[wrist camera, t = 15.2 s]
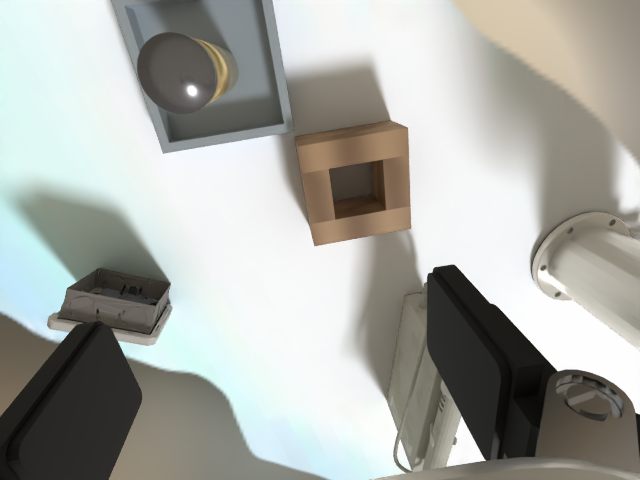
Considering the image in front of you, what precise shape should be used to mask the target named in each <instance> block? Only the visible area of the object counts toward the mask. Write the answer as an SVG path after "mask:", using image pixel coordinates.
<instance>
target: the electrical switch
mask: <svg viewBox="0 0 640 480" xmlns="http://www.w3.org/2000/svg"><path fill="white" fill-rule="evenodd" d="M98 272H99V274H98ZM113 275H114V276H113ZM97 277H98V278H97ZM122 278H123V279H122ZM125 283H126V286H125V289H124V290H123V287H124V285H125ZM170 285H171V284H169V283H165V282H160V281H156V280H151V279H146V278H142V277H137V276H132V275H128V274H123V273H119V272H114V271H109V270H105V269H100V270H99V269H97V270H95V271H94V272H92V273H91V274H89V275H87V276H86V277H84V278H83V279H81V280H80V281H78V282H76V283H75V284H73V285H72V286H70V287H68V288H67V290H66V295H65V300H64V303H63V305H62V307H61V310H60V311H59V312H58V313H53V314H52V315H50V316H49V317H48V323H47V326H48V327H49V328H50V329H53V330H59V331H65V332H71V330H72V329H73V328H74V327H75V326H76V325H78V324H82V323H88V322H94V321H102V322H103V323H104V324H105V325H109V326H110V327H111V329H112V331H113V333H114V335H115V337H116V339H117V341H123V342H128V343H134V344H140V345H146V346H149V345H154V344H155V343H156V341H157V339H158V337H159V335H160V333H161V331H162V329H163V328H164V326H165V324H166V322H167V320H168V318H169V316H170V314H171V311H172V306H171V305H169V304H166V303H167V300H168V293H169V289H170ZM100 287H101V289H100ZM130 287H136V289H137V293H136V295H133V294H130V293H128V291H129V289H130ZM141 287H142V293H141V292H140V290H141ZM82 290H83V291H82ZM122 290H123V291H122Z"/></svg>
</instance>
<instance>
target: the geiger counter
mask: <svg viewBox="0 0 640 480" xmlns="http://www.w3.org/2000/svg"><path fill="white" fill-rule="evenodd" d="M387 403H388V406H389V408H390V411H391V414H392V417H393V420H394V422H395V425H396V428H397V431H398V434H397V437H396V441H395V446H394V455H393V456H394V461H395V463H396V465H397V466H398V467H399V468H400V469H401V470H402V471H404V472H405V473H411V472H417V471H423V470H430V469H436V468H443V467H446V464H447V461H448V458H449V455H450V451H451V448H452V445H456V442H457V439H456V437H455V435H456V432H457V428H458V425H459V422H460V418H461V414H460V412H459V410H458V408H457V406H456V404H455V402H454V400H453V398H452V397H451V395H450V393H449V391H448V389H447V387H446V385H445V383H444V381H443V379H442V378H441V376H440V374H439V372H438V370H437V368H436V366H435V364H434V362H433V361H432V359H431V357H430V355H429V352H428V348H427V282H426V283H424V288H423V290H422V292H421V294H419V293H414V294H410V295H405V297H404V303H403V309H402V315H401V321H400V326H399V332H398V338H397V344H396V350H395V356H394V362H393V368H392V374H391V379H390V385H389V391H388V397H387ZM400 439H401V442H402V445H403V447H404V450H405V453H406V456H407V459H408V461H409V464H410V467H411V470H412V471H410V470H407V469H406V468H404V467H403V466H402V465H401V464H400V463H399V462H398V459H397V449H398V444H399V440H400Z"/></svg>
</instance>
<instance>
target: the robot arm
mask: <svg viewBox="0 0 640 480" xmlns="http://www.w3.org/2000/svg"><path fill="white" fill-rule="evenodd" d="M532 274H533V279H534V282H535V284H536V286H537V287H538V288H539V289H540V290H541V291H542V292H543V293H544V294H546V295H547V296H549V297H551V298H553V299H557V300H574V301H575V302H576V303H578V304H579V305H580V306H582V307H583V308H584V309H585V310H587V311H588V312H589V313H591V314H592V315H593V316H595V317H596V318H597V319H599V320H600V321H601V322H603V323H604V324H605V325H606V326H608V327H609V328H610V329H612V330H613V331H614V332H616V333H617V334H618V335H620V336H621V337H622V338H624V339H625V340H626V341H627V342H629V343H630V344H631V345H633V346H634V347H635V348H637V349H638V350H639V351H640V241H639V240H637V239H635V238H632V237H630V232H629V229H628V227H627V225H626V224H625V223H624V222H623V221H622V220H621V219H619V218H618V217H616V216H613V215H611V214H608V213H604V212H589V213H584V214H581V215H578V216H575V217H573V218H571V219H569V220H567V221H565V222H564V223H562V224H561V225H560V226H558V227H557V228H556V229H555V230H554V231H552V232H551V233H550V234H549V235H548V236H547V238H546V239H545V240H544V241H543V243H542V244H541V246H540V248H539V249H538V251H537V253H536V256H535V258H534V262H533V267H532ZM427 348H428V352H429V355H430V357H431V359H432V361H433V362H434V364H435V366H436V368H437V370H438V372H439V374H440V376H441V378H442V379H443V381H444V383H445V385H446V387H447V389H448V391H449V393H450V395H451V397H452V398H453V400H454V402H455V404H456V406H457V408H458V410H459V412H460V414H461V416H462V417H463V419H464V421H465V423H466V425H467V427H468V429H469V431H470V433H471V434H472V436H473V438H474V440H475V442H476V444H477V446H478V448H479V450H480V452H481V453H482V455H483V457H484V459H485V460H486V461H481V462H475V463H468V464H462V465H456V466H449V467H443V468H436V469H430V470H423V471H417V472H411V473H405V474H399V475H394V476H388V477H382V478H376V479H371V480H640V414H637V413H635V409H634V406H633V403H632V401H631V400H630V399H629V397H628V396H627V395H626V394H625V392H623V391H622V390H621V389H620V388H619V387H617V386H616V385H615V384H614V383H612V382H610V381H608V380H607V379H605V378H603V377H601V376H598V375H595V374H593V373H590V372H586V371H581V370H562V371H557V370H556V369H555V368H554V367H553V366H552V365H551V364H550V363H549V362H548V361H547V359H546V358H545V357H544V356H543V355H542V354H541V353H540V352H539V351H538V350H537V349H536V348H535V347H534V345H533V344H532V343H531V342H530V341H529V340H528V339H527V338H526V337H525V336H524V335H523V334H522V333H521V331H520V330H519V329H518V328H517V327H516V326H515V325H514V324H513V323H512V322H511V321H510V320H509V319H508V317H507V316H506V315H505V314H504V313H503V312H502V311H501V310H500V309H499V308H498V307H497V306H496V305H494V304H490V303H489V302H488V301H487V300H486V299H485V297H484V296H483V295H482V294H481V293H480V292H479V291H478V290H477V289H476V288H475V286H474V285H473V284H472V283H471V282H470V281H469V280H468V279H467V278H466V277H465V275H464V274H463V273H462V272H461V271H460V270H459V269H458V268H457V267H456V266H455V265H447V266H441V267H435V268H434V269H433V273H429V274H428V276H427ZM141 401H142V392H141V389H140V387H139V385H138V383H137V381H136V379H135V377H134V375H133V373H132V370H131V368H130V366H129V364H128V362H127V360H126V358H125V356H124V354H123V352H122V349H121V347H120V345H119V343H118V341H117V339H116V337H115V335H114V333H113V331H112V329H111V327H110V326H109V325H105V324H104V323H103V322H102V321H94V322H88V323H82V324H78V325H76V326H75V327H74V328H73V329H72V330H71V332H70V333H69V334H68V335H67V336H66V338H65V339H64V340H63V341H62V342H61V344H60V345H59V346H58V347H57V349H56V350H55V351H54V352H53V353H52V355H51V356H50V357H49V358H48V360H47V361H46V362H45V363H44V364H43V366H42V367H41V368H40V369H39V371H38V372H37V373H36V374H35V375H34V377H33V378H32V379H31V380H30V381H29V383H28V384H27V385H26V386H25V388H24V389H23V390H22V391H21V392H20V394H19V395H18V396H17V397H16V399H15V400H14V401H13V402H12V403H11V405H10V406H9V407H8V408H7V409H6V411H5V412H4V413H3V414H2V416H1V417H0V480H109V477H110V475H111V472H112V470H113V468H114V466H115V463H116V461H117V459H118V456H119V454H120V452H121V449H122V447H123V445H124V442H125V440H126V437H127V435H128V433H129V430H130V428H131V426H132V423H133V421H134V419H135V416H136V414H137V412H138V409H139V407H140V405H141Z"/></svg>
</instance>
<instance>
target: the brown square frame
mask: <svg viewBox="0 0 640 480" xmlns="http://www.w3.org/2000/svg"><path fill="white" fill-rule="evenodd" d="M294 138H295V143H296V149H297V155H298V161H299V167H300V173H301V179H302V185H303V190H304V196H305V202H306V208H307V214H308V220H309V226H310V230H311V234H312V238H313V242H314V246H319V245H324V244H329V243H335V242H340V241H346V240H351V239H357V238H362V237H367V236H373V235H378V234H384V233H389V232H394V231H400V230H405V229H411V211H410V178H409V144H408V128H407V127H405V126H403V125H400V124H398V123H396V122H393V121H386V122H380V123H374V124H368V125H362V126H356V127H350V128H344V129H339V130H333V131H327V132H321V133H315V134H309V135H303V136H297V137H294ZM365 162H371V174H372V186H373V195H368V196H362V197H357V198H351V199H346V200H340V201H334V202H333V198H332V190H331V183H330V175H329V169H331V168H337V167H342V166H348V165H354V164H360V163H365Z"/></svg>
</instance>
